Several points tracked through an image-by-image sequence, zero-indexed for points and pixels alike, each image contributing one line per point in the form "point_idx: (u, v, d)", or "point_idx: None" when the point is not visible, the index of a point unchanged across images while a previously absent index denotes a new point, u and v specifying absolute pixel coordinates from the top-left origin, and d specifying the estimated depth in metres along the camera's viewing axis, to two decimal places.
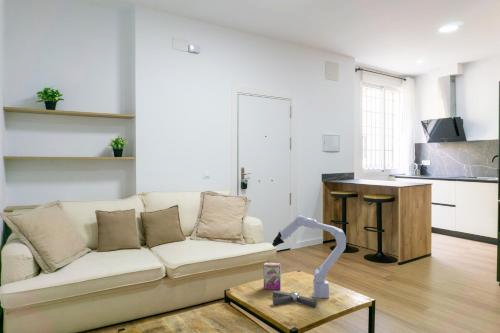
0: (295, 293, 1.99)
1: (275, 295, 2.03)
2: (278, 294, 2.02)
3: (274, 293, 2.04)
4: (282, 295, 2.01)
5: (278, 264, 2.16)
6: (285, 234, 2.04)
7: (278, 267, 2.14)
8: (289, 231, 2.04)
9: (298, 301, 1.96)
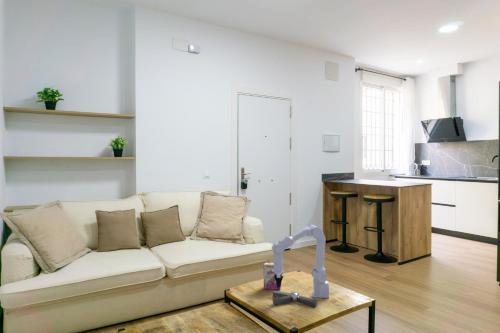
0: (295, 293, 1.99)
1: (275, 295, 2.03)
2: (278, 294, 2.02)
3: (274, 293, 2.04)
4: (282, 295, 2.01)
5: None
6: (278, 270, 1.96)
7: None
8: (278, 264, 1.96)
9: (298, 301, 1.96)
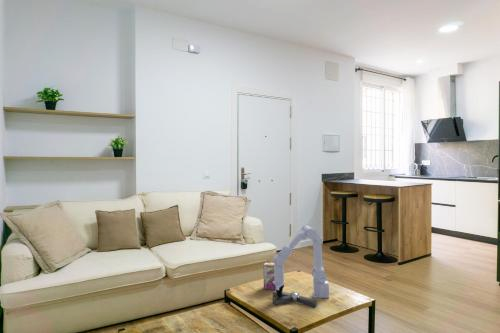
0: (295, 293, 1.99)
1: (275, 295, 2.03)
2: None
3: (274, 293, 2.04)
4: (282, 295, 2.01)
5: None
6: (278, 282, 1.98)
7: None
8: (278, 277, 1.98)
9: (298, 301, 1.96)
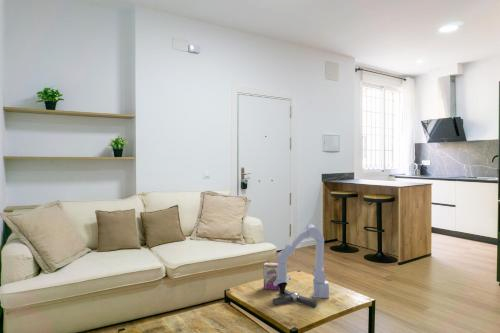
0: (295, 293, 1.99)
1: None
2: None
3: (279, 290, 2.09)
4: (285, 293, 2.04)
5: None
6: (279, 278, 2.03)
7: None
8: (279, 273, 2.03)
9: (298, 301, 1.96)
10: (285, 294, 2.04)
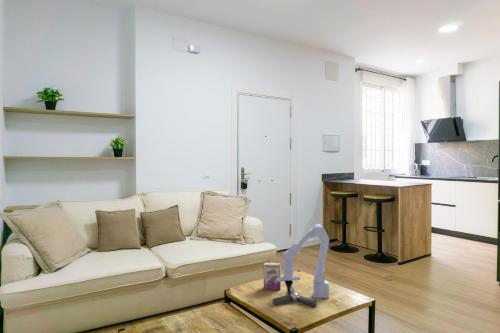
0: (295, 293, 1.99)
1: None
2: None
3: None
4: (290, 291, 2.06)
5: (278, 264, 2.16)
6: (284, 276, 2.07)
7: (278, 267, 2.14)
8: (284, 271, 2.06)
9: (298, 301, 1.96)
10: (290, 293, 2.06)
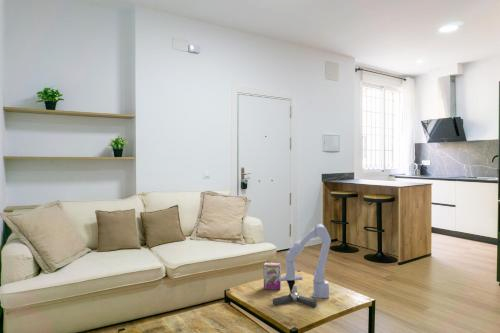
0: (295, 293, 1.99)
1: None
2: (292, 289, 2.09)
3: None
4: (292, 291, 2.06)
5: (278, 264, 2.16)
6: (286, 275, 2.07)
7: (278, 267, 2.14)
8: (286, 271, 2.07)
9: (298, 301, 1.96)
10: None
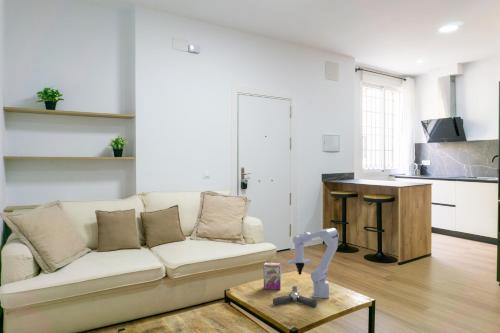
0: (295, 293, 1.99)
1: None
2: None
3: None
4: (292, 291, 2.06)
5: (278, 264, 2.16)
6: (295, 258, 2.16)
7: (278, 267, 2.14)
8: (295, 254, 2.16)
9: (298, 301, 1.96)
10: None
